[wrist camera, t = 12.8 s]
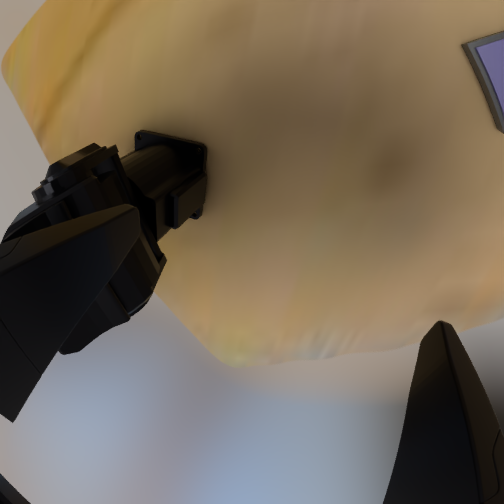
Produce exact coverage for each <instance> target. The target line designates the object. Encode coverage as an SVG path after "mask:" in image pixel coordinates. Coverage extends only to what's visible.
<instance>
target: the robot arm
mask: <svg viewBox="0 0 504 504" xmlns="http://www.w3.org/2000/svg"><path fill="white" fill-rule="evenodd" d="M140 135H141V137H142V138H141V137H140ZM198 148H199V149H200V150H201V153H200V152H199V151H198ZM118 152H119V151H118V149H117V146H116V144H115V145H113V146H111V147H109V148H107V147H106V146H104V147H100V146H99V145H97V144H96V143H93V144H91V145H89V146H87V147H85V148H83V149H81V150H79V151H77V152H75V153H73V154H71V155H69V156H67V157H65V158H63V159H61V160H59V161H57V162H55V163H54V164H52V165H50V166H49V169H48V171H47V174H46V177H45V179H44V180H43V181H41V182H40V184H41V185H40V186H39V187H38V188H36V189H35V190H34V191H32V195H33V197H34V199H35V201H36V202H35V203H33V204H32V205H30V206H29V207H27V208H26V209H24V210H23V211H21V212H20V213H19V214H18V215H17V217H16V218H15V219H14V221H13V222H12V223H11V225H10V226H9V228H8V229H7V231H6V233H5V235H4V237H3V240H2V242H1V244H0V414H1V415H3V416H4V417H5V418H7V419H8V420H10V421H11V422H12V423H13V422H14V421H15V419H16V418H17V416H18V414H19V412H20V411H21V409H22V407H23V406H24V404H25V402H26V400H27V399H28V397H29V395H30V394H31V392H32V390H33V389H34V387H35V386H36V384H37V382H38V381H39V379H40V378H41V376H42V374H43V373H44V371H45V370H46V368H47V366H48V365H49V363H50V362H51V360H52V359H53V357H54V356H55V354H56V353H57V351H59V352H60V353H61V354H63V355H66V354H71V353H75V352H79V351H80V350H82V349H83V348H84V347H85V346H87V345H88V344H89V343H90V342H92V341H93V340H94V339H95V338H97V337H98V336H99V335H101V334H102V333H104V332H106V331H108V330H109V329H111V328H113V327H115V326H118V325H120V324H123V323H125V322H128V321H129V320H130V317H131V316H133V315H134V314H135V313H137V312H139V311H140V310H141V309H142V308H143V307H144V306H145V305H146V304H147V302H148V301H149V299H150V297H151V296H152V294H153V291H154V288H155V286H156V284H157V281H158V279H159V277H160V275H161V272H162V270H163V268H164V266H165V264H166V262H167V259H166V257H165V255H164V253H162V252H161V250H160V248H159V246H158V244H157V242H158V241H159V240H160V239H161V238H162V237H163V236H164V235H165V234H166V233H167V232H168V231H169V230H170V229H171V228H172V229H177V228H179V227H180V226H181V225H182V224H183V223H184V222H185V221H186V220H187V219H188V218H192V219H198V218H199V217H200V216H201V215H202V206H203V204H204V203H205V193H206V181H207V174H206V172H205V168H206V156H207V148H206V146H205V145H204V144H202V143H198V142H194V141H190V140H186V139H181V138H177V137H173V136H168V135H163V134H159V133H154V132H149V131H144V130H140V131H138V132H136V133H135V151H133V152H131V153H129V154H128V155H126V156H124V157H122V158H119V155H118ZM194 212H196V213H197V214H195V213H194ZM0 504H31V503H30V502H28V501H27V500H26V499H25V498H24V497H23V496H22V495H21V494H20V493H19V492H18V491H17V490H16V489H15V488H14V487H13V486H12V485H11V484H10V483H9V482H8V481H7V480H6V479H5V478H4V477H3V476H2V475H1V474H0ZM383 504H504V436H503V433H502V430H501V429H500V425H499V423H498V420H497V417H496V415H495V412H494V410H493V408H492V405H491V403H490V401H489V398H488V396H487V394H486V392H485V389H484V387H483V385H482V383H481V381H480V378H479V377H478V374H477V372H476V370H475V368H474V366H473V364H472V362H471V360H470V358H469V356H468V354H467V352H466V351H465V348H464V346H463V345H462V343H461V341H460V339H459V337H458V335H457V333H456V332H455V330H454V328H453V326H452V325H451V324H449V323H447V322H444V321H438V322H436V323H435V324H434V326H433V327H432V328H431V329H430V330H429V331H428V333H427V334H426V335H425V336H424V337H423V339H422V341H421V343H420V347H419V353H418V357H417V362H416V366H415V371H414V375H413V379H412V383H411V387H410V392H409V397H408V403H407V409H406V414H405V420H404V425H403V430H402V434H401V439H400V443H399V448H398V452H397V456H396V460H395V464H394V468H393V472H392V475H391V479H390V482H389V485H388V489H387V492H386V495H385V498H384V501H383Z"/></svg>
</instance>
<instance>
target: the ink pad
mask: <svg viewBox="0 0 504 504" xmlns="http://www.w3.org/2000/svg"><path fill="white" fill-rule="evenodd" d="M462 47H463V49H464V51H465V53H466V55H467V57H468V59H469V61H470V63H471V65H472V67H473V69H474V71H475V73H476V75H477V78H478V80H479V82H480V84H481V87H482V89H483V92H484V94H485V96H486V99H487V101H488V104H489V107H490V109H491V112H492V115H493V118H494V120H495V123H496V126H497V129H498V130H499V131H501V132H502V133H504V31H502V32H499V33H495V34H492V35H489V36H486V37H483V38H479V39H476V40H473V41H470V42H468V43H465V44H462Z"/></svg>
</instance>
